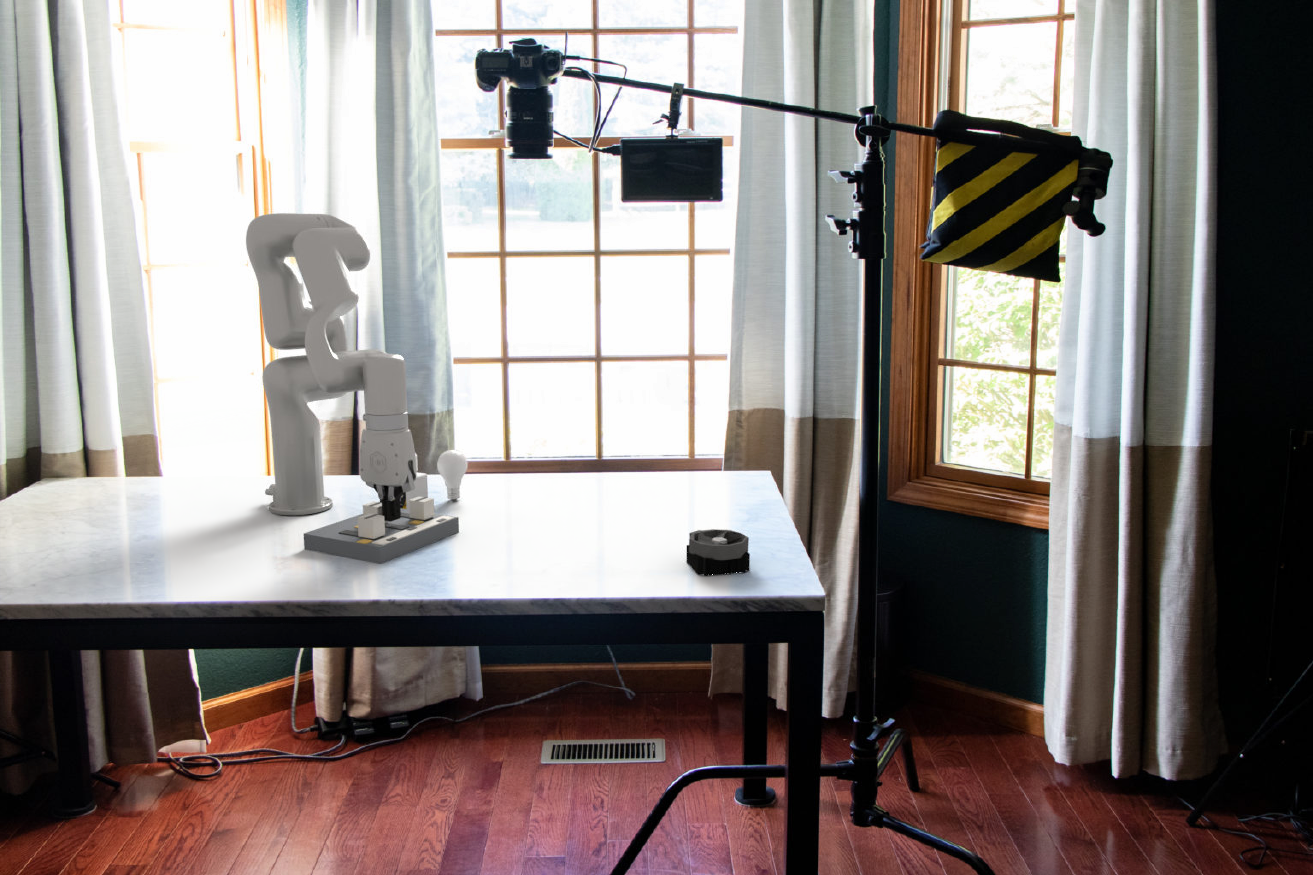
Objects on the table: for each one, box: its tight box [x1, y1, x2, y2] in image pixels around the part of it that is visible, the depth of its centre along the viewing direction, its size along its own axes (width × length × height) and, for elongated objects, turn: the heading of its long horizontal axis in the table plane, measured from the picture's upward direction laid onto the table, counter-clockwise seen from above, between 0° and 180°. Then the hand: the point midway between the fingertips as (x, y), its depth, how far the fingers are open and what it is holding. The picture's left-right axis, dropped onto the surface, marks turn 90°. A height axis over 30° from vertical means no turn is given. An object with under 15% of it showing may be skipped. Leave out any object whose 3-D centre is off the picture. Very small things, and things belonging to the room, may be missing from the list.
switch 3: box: [409, 496, 435, 520], centre depth 205 cm, size 4×3×4 cm
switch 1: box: [362, 501, 389, 523], centre depth 202 cm, size 4×3×4 cm
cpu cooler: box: [686, 528, 751, 577], centre depth 186 cm, size 10×6×10 cm
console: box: [303, 508, 460, 565], centre depth 201 cm, size 18×22×3 cm
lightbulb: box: [436, 449, 469, 502], centre depth 230 cm, size 6×6×11 cm
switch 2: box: [358, 514, 385, 539], centre depth 193 cm, size 4×3×4 cm
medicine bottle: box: [379, 452, 429, 509], centre depth 223 cm, size 7×7×12 cm
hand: (391, 519), depth 200 cm, fingers closed
